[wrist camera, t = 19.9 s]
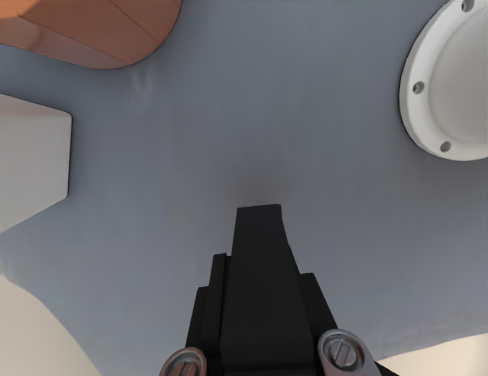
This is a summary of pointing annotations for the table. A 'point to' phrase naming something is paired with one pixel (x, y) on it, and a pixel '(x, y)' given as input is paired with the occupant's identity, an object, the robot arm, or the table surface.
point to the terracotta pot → (88, 29)
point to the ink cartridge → (264, 302)
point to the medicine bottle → (31, 159)
